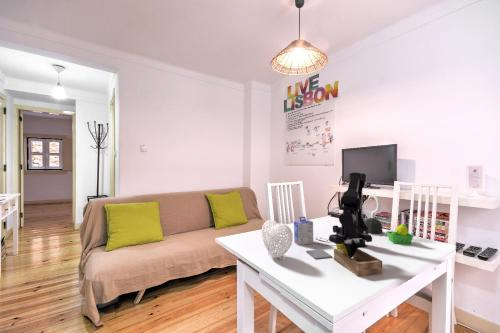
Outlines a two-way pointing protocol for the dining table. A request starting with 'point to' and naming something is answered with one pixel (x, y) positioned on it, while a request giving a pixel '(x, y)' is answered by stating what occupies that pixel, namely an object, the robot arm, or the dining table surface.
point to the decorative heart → (276, 238)
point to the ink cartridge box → (303, 231)
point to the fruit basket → (400, 235)
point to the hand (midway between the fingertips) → (350, 257)
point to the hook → (374, 220)
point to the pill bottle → (342, 247)
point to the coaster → (319, 254)
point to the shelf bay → (359, 263)
